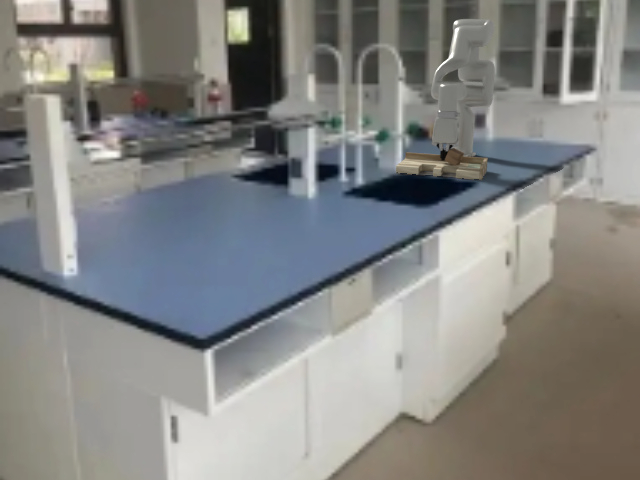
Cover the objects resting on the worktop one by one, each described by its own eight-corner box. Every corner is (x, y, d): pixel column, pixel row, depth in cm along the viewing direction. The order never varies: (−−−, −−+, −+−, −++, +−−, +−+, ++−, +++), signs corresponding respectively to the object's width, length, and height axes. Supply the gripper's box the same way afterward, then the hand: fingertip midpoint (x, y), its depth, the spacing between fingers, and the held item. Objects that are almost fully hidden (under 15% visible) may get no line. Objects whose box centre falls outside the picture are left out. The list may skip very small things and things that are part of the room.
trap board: (405, 165, 299) (406, 152, 298) (486, 171, 289) (487, 158, 287) (395, 173, 283) (396, 159, 281) (481, 180, 272) (482, 166, 271)
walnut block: (449, 158, 289) (453, 147, 287) (459, 164, 287) (464, 153, 285) (444, 160, 285) (449, 149, 283) (455, 166, 283) (459, 154, 281)
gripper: (466, 115, 284) (463, 160, 289) (430, 113, 288) (427, 157, 294) (464, 117, 277) (460, 163, 282) (426, 115, 282) (423, 160, 287)
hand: (443, 160), depth 288 cm, fingers closed
